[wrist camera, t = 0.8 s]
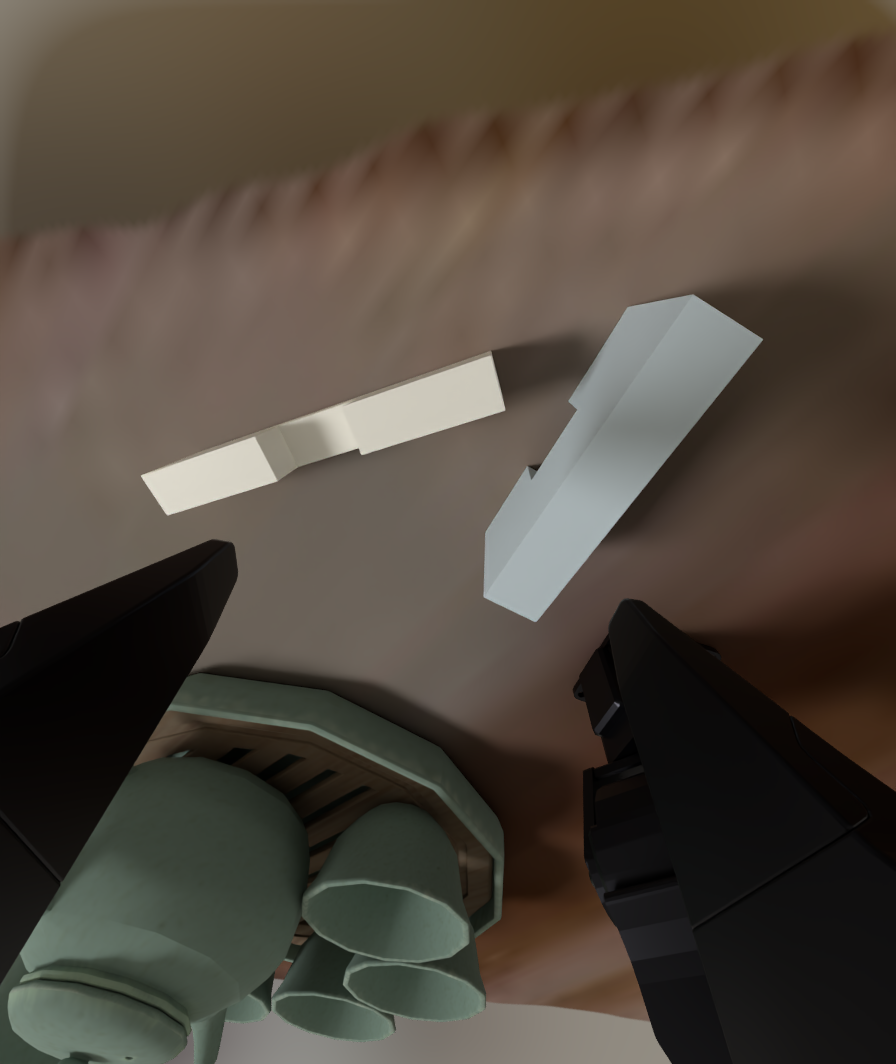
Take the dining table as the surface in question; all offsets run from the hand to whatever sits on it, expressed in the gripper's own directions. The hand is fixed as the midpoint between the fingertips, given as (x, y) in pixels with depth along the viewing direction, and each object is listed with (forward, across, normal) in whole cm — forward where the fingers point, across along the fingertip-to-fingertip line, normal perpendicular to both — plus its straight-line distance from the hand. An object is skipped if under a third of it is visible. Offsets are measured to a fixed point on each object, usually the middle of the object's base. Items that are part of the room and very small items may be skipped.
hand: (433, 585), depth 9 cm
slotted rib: (+12, +5, +1) cm, 14 cm away
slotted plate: (+12, -6, 0) cm, 13 cm away
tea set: (+10, +8, +39) cm, 41 cm away
